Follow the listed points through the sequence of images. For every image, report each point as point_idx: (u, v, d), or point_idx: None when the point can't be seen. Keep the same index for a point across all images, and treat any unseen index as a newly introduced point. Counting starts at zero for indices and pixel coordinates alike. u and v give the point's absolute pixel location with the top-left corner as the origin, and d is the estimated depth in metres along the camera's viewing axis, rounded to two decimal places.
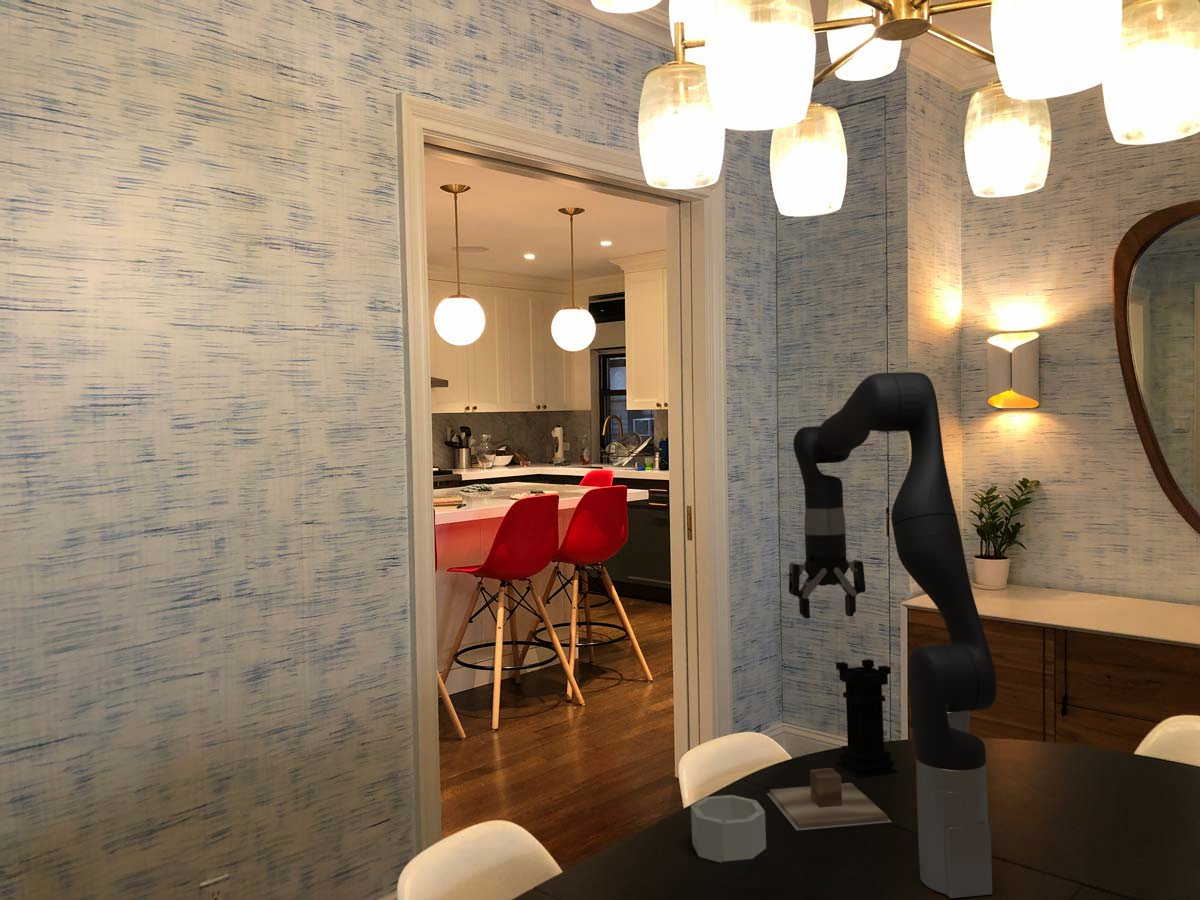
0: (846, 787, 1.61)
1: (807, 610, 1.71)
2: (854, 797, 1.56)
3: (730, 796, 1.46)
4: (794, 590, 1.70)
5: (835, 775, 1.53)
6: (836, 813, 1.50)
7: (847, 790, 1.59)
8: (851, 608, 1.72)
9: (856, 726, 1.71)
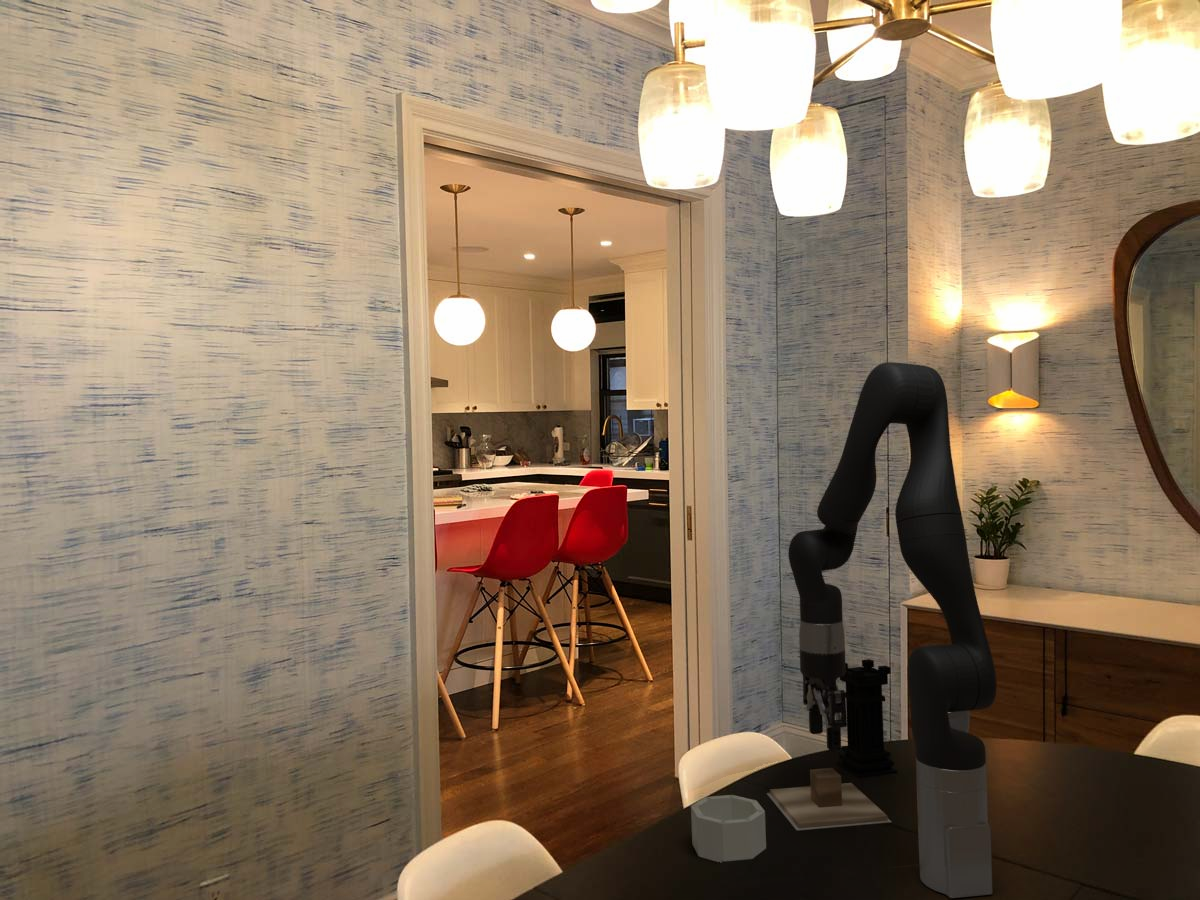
0: (846, 787, 1.61)
1: None
2: (854, 797, 1.56)
3: (730, 796, 1.46)
4: None
5: (835, 775, 1.53)
6: (836, 813, 1.50)
7: (847, 790, 1.59)
8: None
9: (856, 726, 1.71)
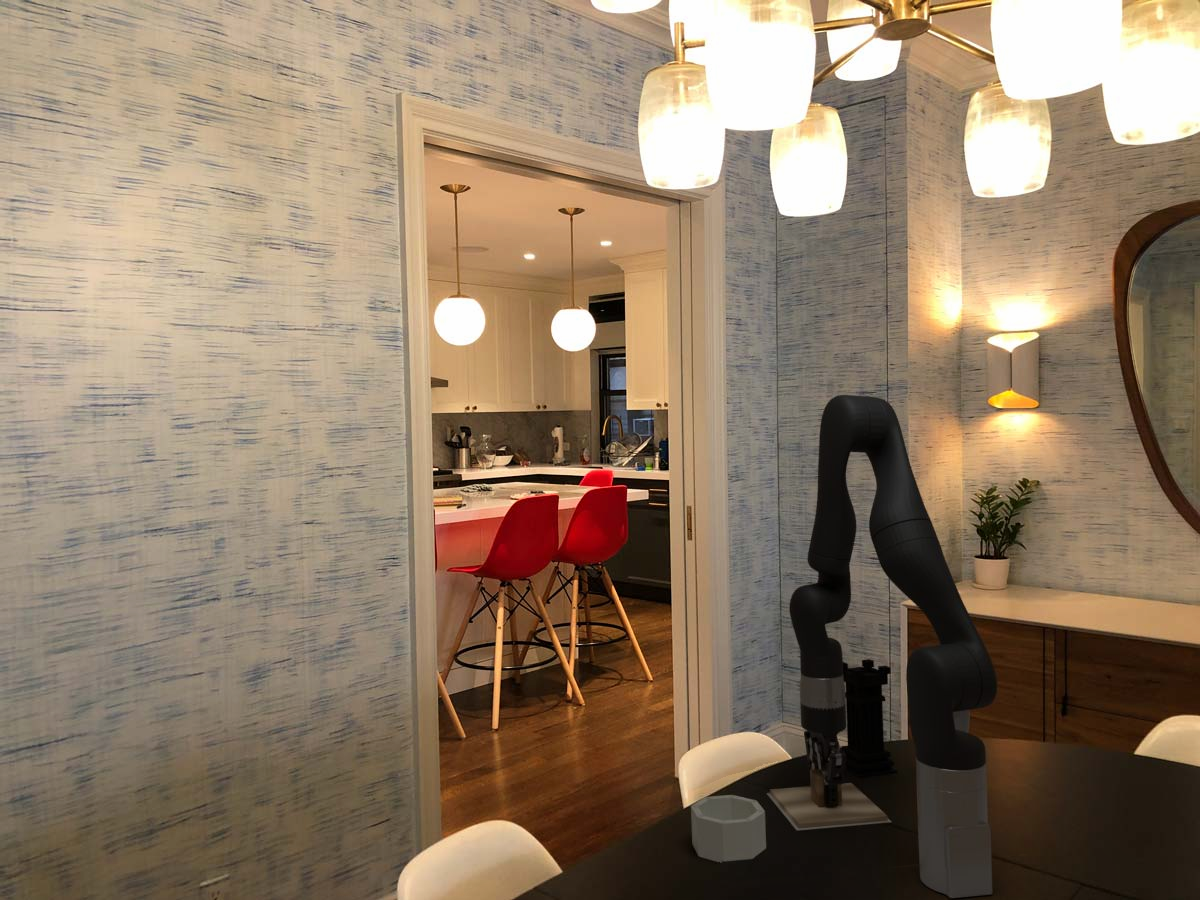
0: (846, 787, 1.61)
1: None
2: (854, 797, 1.56)
3: (730, 796, 1.46)
4: None
5: None
6: (836, 813, 1.50)
7: (847, 790, 1.59)
8: None
9: (856, 726, 1.71)
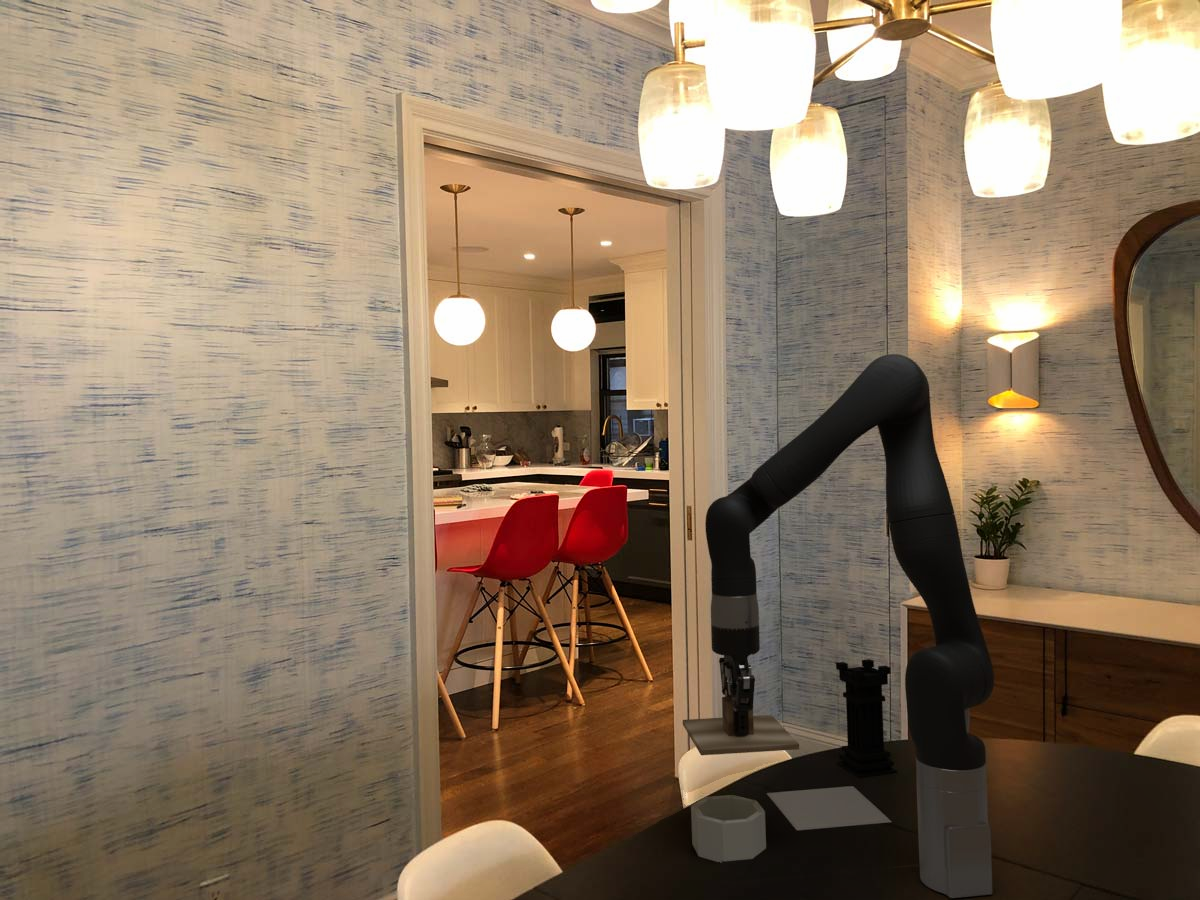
0: (764, 718, 1.50)
1: None
2: (769, 727, 1.45)
3: (730, 796, 1.46)
4: None
5: None
6: (745, 741, 1.39)
7: (764, 721, 1.48)
8: None
9: (856, 726, 1.71)
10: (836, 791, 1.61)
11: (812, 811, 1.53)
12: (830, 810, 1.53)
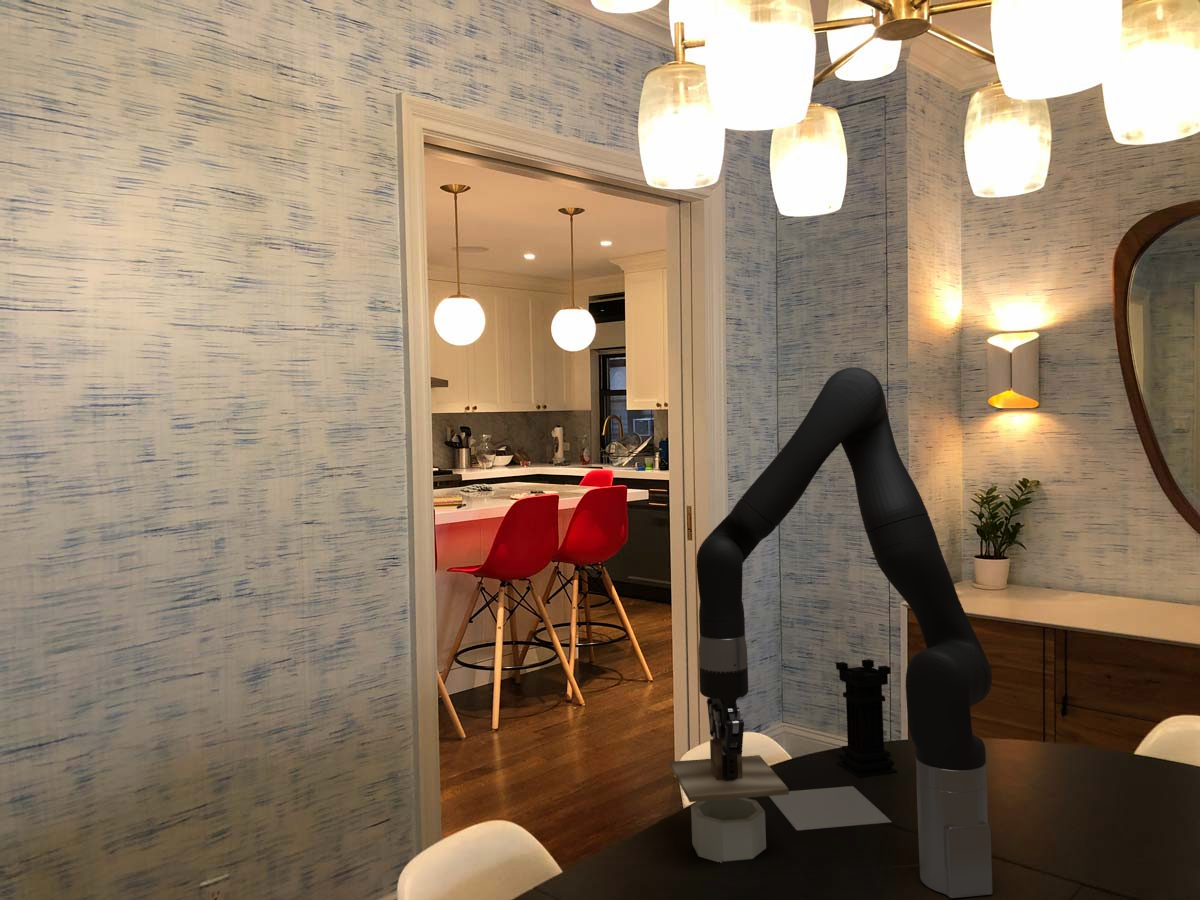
0: (753, 759, 1.48)
1: None
2: (758, 770, 1.43)
3: None
4: None
5: None
6: (734, 786, 1.37)
7: (753, 762, 1.46)
8: None
9: (856, 726, 1.71)
10: (836, 791, 1.61)
11: (812, 811, 1.53)
12: (830, 810, 1.53)
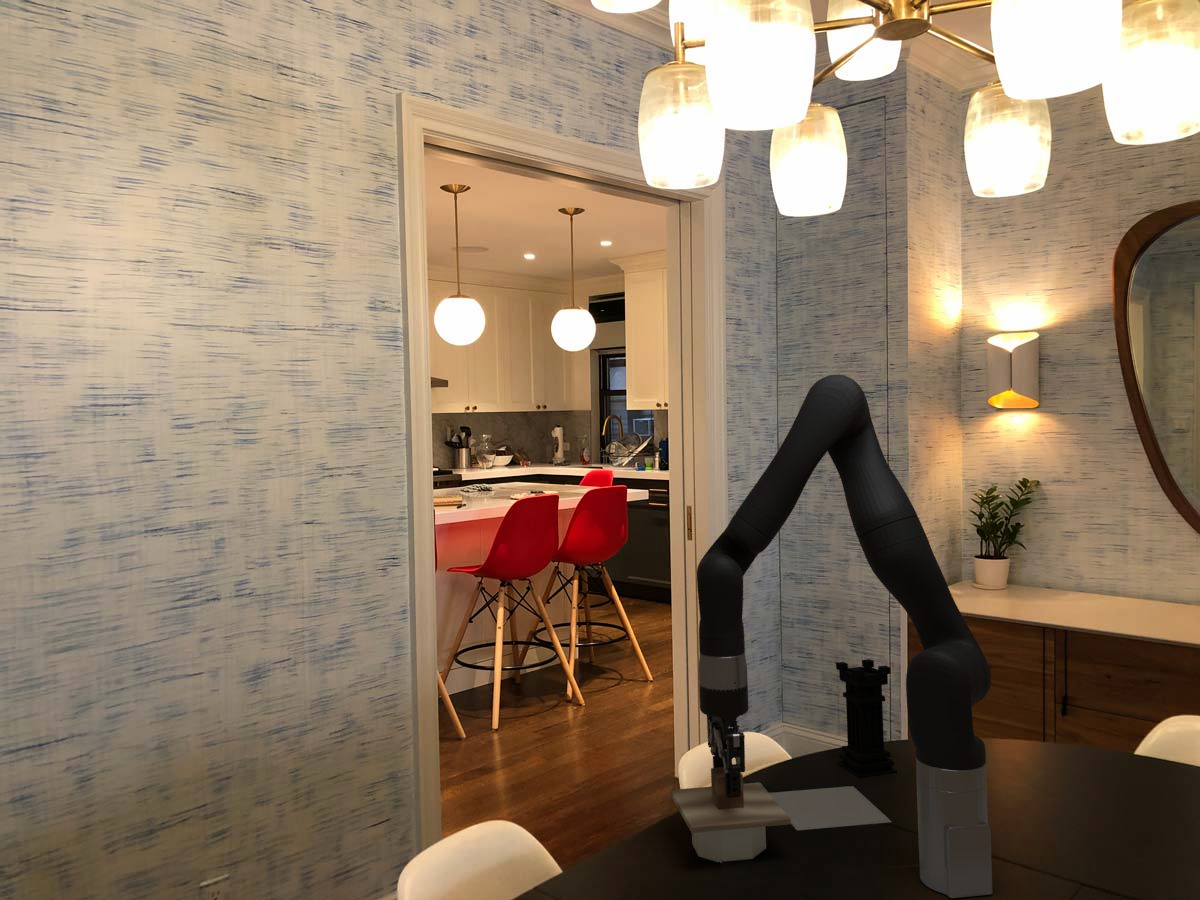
0: (753, 787, 1.47)
1: None
2: (759, 798, 1.43)
3: None
4: None
5: None
6: (735, 816, 1.36)
7: (753, 790, 1.46)
8: None
9: (856, 726, 1.71)
10: (836, 791, 1.61)
11: (812, 811, 1.53)
12: (830, 810, 1.53)
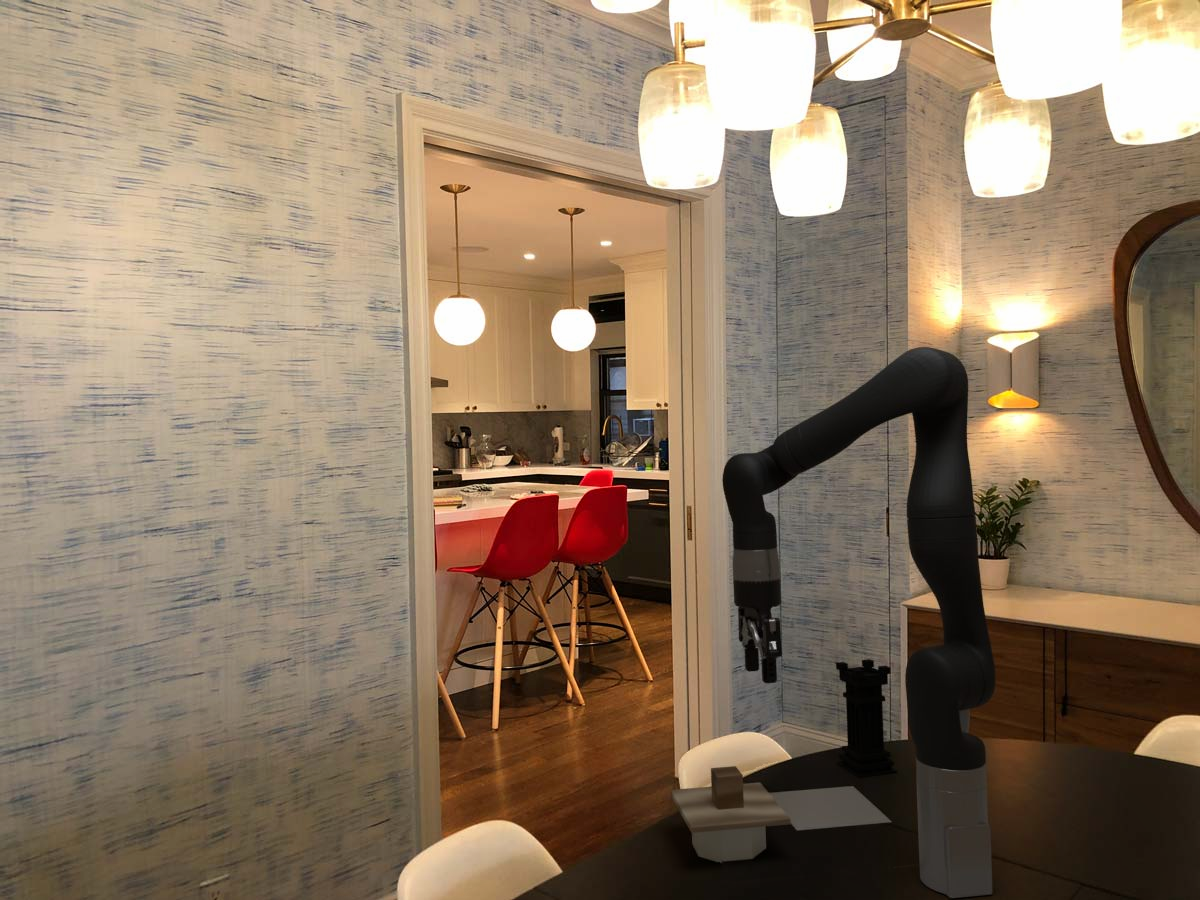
0: (753, 787, 1.47)
1: None
2: (759, 798, 1.43)
3: None
4: None
5: (736, 774, 1.40)
6: (735, 816, 1.36)
7: (753, 790, 1.46)
8: None
9: (856, 726, 1.71)
10: (836, 791, 1.61)
11: (812, 811, 1.53)
12: (830, 810, 1.53)
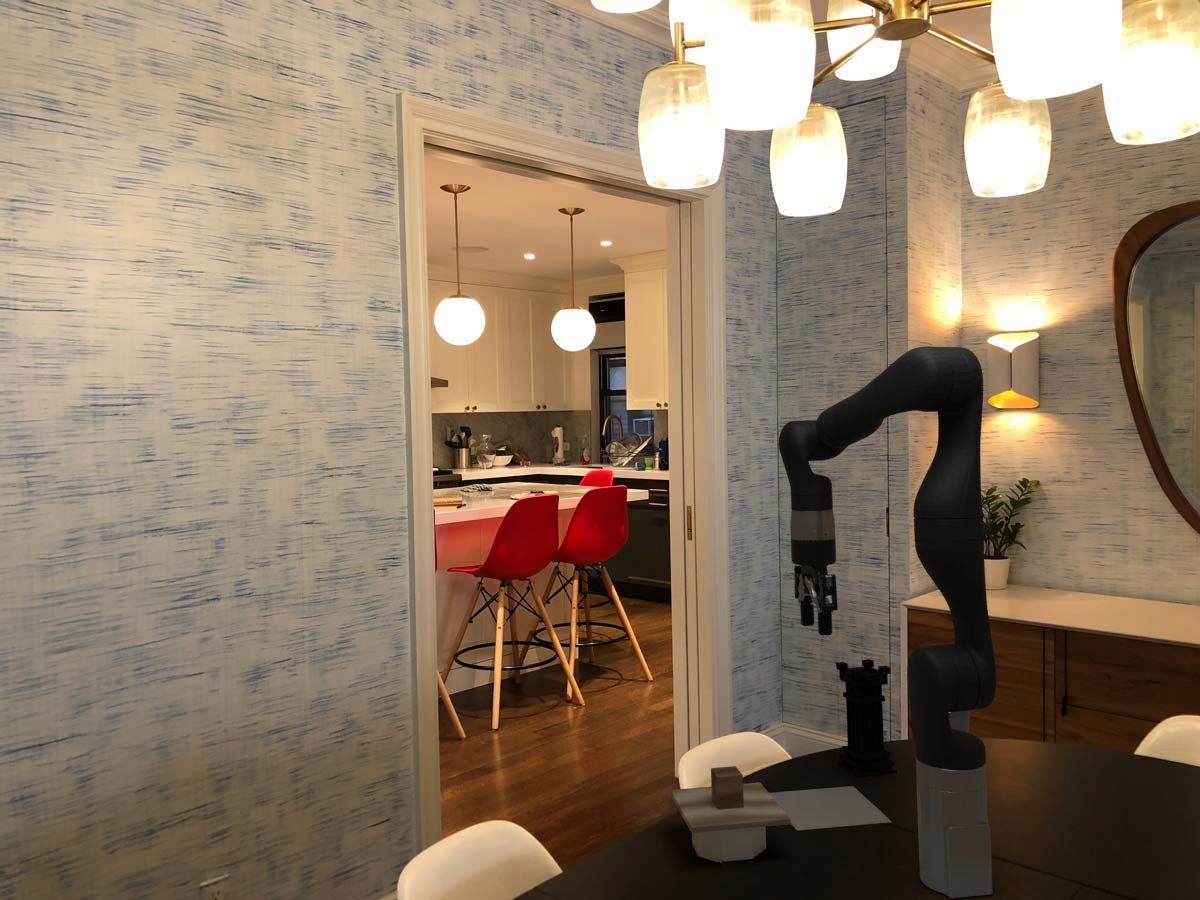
0: (753, 787, 1.47)
1: None
2: (759, 798, 1.43)
3: None
4: None
5: (736, 774, 1.40)
6: (735, 816, 1.36)
7: (753, 790, 1.46)
8: None
9: (856, 726, 1.71)
10: (836, 791, 1.61)
11: (812, 811, 1.53)
12: (830, 810, 1.53)
